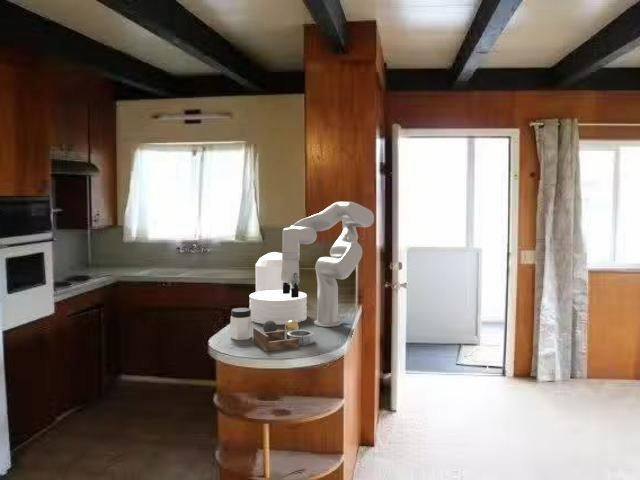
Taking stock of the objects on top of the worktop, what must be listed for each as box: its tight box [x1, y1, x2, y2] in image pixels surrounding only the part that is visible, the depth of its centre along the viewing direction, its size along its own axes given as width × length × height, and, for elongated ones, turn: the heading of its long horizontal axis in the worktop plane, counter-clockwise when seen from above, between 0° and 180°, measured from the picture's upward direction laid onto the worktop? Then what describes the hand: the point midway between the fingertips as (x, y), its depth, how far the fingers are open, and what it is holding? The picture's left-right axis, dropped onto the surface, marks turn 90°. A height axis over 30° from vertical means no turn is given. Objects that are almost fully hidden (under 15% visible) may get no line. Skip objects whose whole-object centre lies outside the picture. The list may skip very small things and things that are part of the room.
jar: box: [230, 307, 253, 341], centre depth 236 cm, size 9×8×12 cm
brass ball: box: [284, 320, 300, 333], centre depth 243 cm, size 6×6×6 cm
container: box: [254, 251, 292, 292], centre depth 312 cm, size 21×21×28 cm
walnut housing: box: [252, 327, 299, 352], centre depth 225 cm, size 14×15×6 cm
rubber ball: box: [262, 320, 278, 333], centre depth 242 cm, size 6×6×6 cm
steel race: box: [286, 329, 315, 346], centre depth 230 cm, size 11×11×4 cm
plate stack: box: [248, 290, 308, 325], centre depth 273 cm, size 28×28×12 cm
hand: (290, 295), depth 242 cm, fingers open, 9 cm apart
